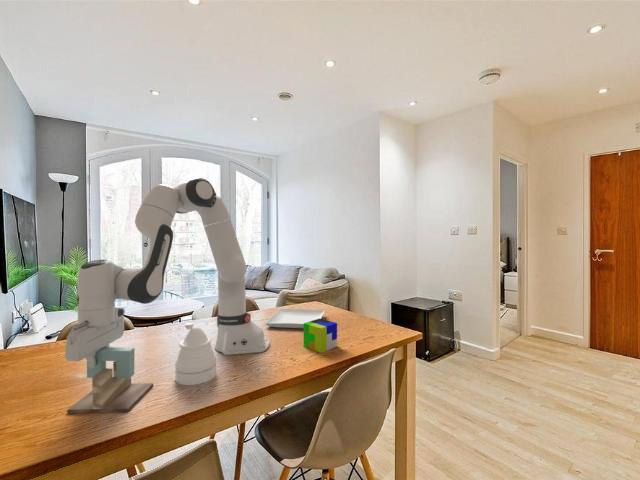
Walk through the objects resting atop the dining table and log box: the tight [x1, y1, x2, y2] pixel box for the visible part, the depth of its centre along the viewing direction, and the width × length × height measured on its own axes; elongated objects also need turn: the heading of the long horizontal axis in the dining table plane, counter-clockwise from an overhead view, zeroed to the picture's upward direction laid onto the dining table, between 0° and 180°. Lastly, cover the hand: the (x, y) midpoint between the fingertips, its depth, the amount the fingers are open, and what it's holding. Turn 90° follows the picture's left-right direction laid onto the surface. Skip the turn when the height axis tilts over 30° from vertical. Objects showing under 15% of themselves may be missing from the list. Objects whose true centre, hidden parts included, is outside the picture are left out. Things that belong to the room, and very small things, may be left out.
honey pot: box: [174, 322, 217, 386], centre depth 107 cm, size 13×13×18 cm
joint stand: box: [66, 361, 154, 414], centre depth 93 cm, size 16×14×10 cm
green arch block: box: [86, 346, 135, 379], centre depth 92 cm, size 12×2×8 cm, turn 92°
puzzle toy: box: [303, 318, 338, 354], centre depth 134 cm, size 10×10×10 cm
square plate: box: [264, 308, 326, 330], centre depth 169 cm, size 27×27×4 cm
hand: (97, 363), depth 92 cm, fingers closed on green arch block, 2 cm apart
